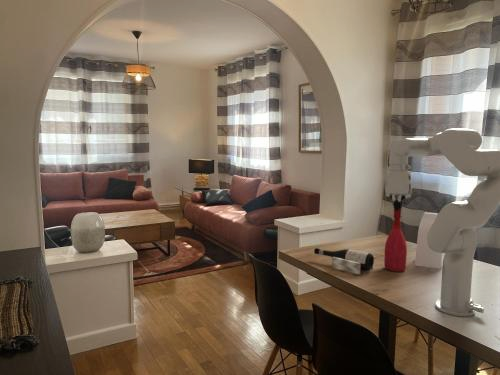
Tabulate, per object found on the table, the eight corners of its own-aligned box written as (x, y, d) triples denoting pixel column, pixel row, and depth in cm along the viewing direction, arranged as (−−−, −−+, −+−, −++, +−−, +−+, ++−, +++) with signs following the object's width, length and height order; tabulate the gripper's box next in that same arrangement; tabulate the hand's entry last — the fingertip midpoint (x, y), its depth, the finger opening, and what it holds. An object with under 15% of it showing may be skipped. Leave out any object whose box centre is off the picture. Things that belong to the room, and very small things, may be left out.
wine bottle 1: (372, 250, 177) (316, 240, 196) (366, 261, 172) (309, 250, 191) (375, 262, 180) (320, 251, 200) (369, 274, 176) (313, 261, 195)
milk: (441, 262, 192) (444, 212, 189) (441, 268, 182) (444, 216, 179) (416, 259, 197) (418, 210, 194) (414, 265, 187) (417, 214, 184)
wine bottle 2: (407, 273, 176) (410, 210, 172) (385, 271, 178) (388, 209, 174) (403, 266, 185) (406, 206, 182) (382, 265, 187) (385, 206, 184)
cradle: (372, 268, 182) (373, 256, 181) (358, 276, 171) (358, 263, 171) (346, 262, 191) (347, 251, 191) (331, 269, 181) (332, 257, 180)
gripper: (419, 168, 160) (418, 210, 161) (385, 167, 170) (384, 207, 171) (413, 168, 154) (411, 213, 156) (378, 168, 164) (377, 209, 166)
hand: (397, 210), depth 163 cm, fingers closed
